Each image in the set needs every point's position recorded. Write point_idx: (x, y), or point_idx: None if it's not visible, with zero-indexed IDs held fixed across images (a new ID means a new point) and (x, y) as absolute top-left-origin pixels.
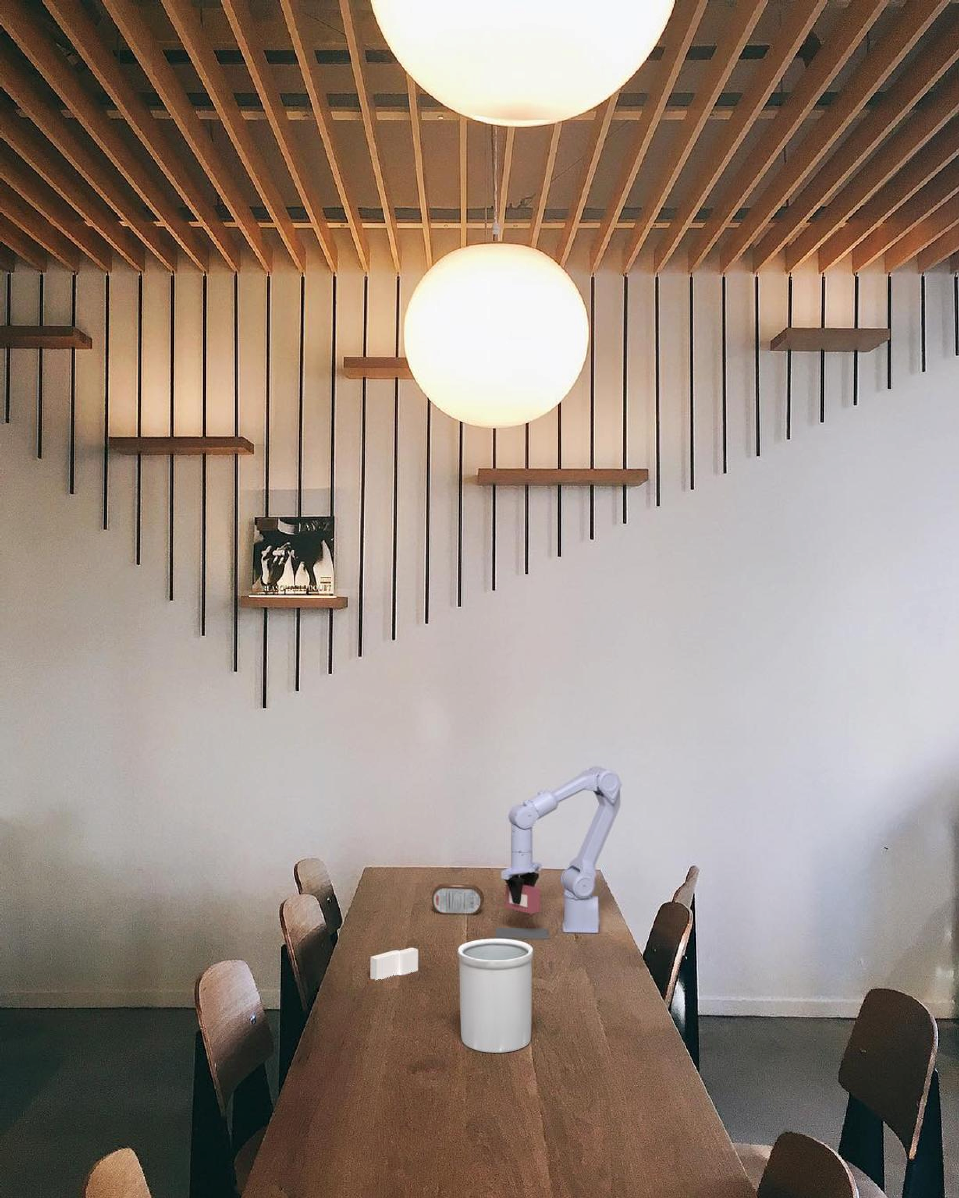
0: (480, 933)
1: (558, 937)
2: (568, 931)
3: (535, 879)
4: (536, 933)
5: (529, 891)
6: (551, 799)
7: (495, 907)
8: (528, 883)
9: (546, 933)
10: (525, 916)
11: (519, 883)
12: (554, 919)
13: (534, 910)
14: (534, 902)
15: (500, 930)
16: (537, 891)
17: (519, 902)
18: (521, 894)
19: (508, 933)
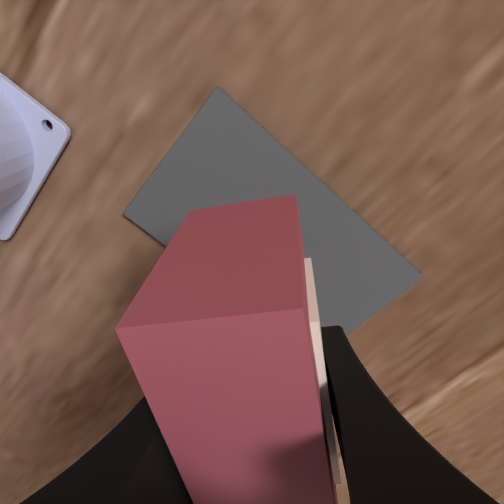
0: (413, 350)
1: (144, 76)
2: (45, 109)
3: (69, 501)
4: (221, 190)
5: (308, 327)
6: None
7: None
8: (164, 487)
9: (175, 157)
10: (109, 392)
11: (479, 498)
12: (17, 308)
13: (256, 206)
14: (250, 235)
15: (331, 322)
16: (177, 300)
17: (334, 332)
18: (325, 378)
19: (336, 271)
